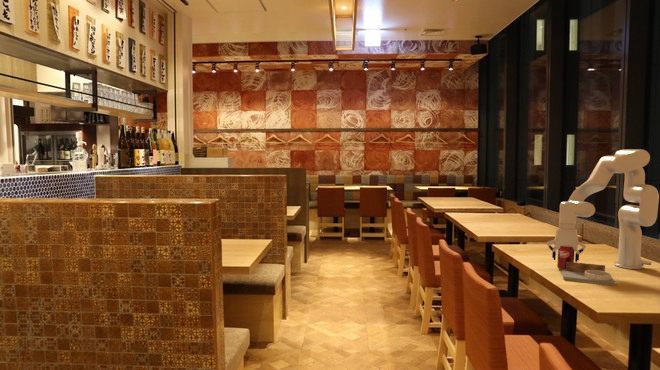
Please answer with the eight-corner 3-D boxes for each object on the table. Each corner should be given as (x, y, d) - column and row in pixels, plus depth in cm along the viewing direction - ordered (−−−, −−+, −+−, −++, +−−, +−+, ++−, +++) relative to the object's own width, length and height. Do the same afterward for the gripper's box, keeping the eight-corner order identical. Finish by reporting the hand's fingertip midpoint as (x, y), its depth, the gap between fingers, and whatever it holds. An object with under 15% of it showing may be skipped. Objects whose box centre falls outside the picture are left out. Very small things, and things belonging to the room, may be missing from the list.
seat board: (610, 278, 210) (610, 271, 210) (614, 285, 199) (615, 277, 199) (562, 273, 218) (562, 266, 218) (563, 279, 207) (563, 272, 207)
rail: (604, 275, 215) (604, 265, 215) (604, 276, 214) (605, 265, 214) (566, 271, 222) (566, 261, 222) (566, 272, 220) (566, 262, 220)
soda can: (564, 271, 223) (565, 246, 222) (553, 267, 230) (554, 244, 229) (576, 270, 225) (578, 246, 224) (565, 266, 232) (566, 243, 231)
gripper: (586, 226, 226) (584, 260, 227) (547, 224, 233) (545, 257, 234) (587, 229, 219) (585, 264, 220) (548, 226, 226) (546, 260, 227)
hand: (565, 260), depth 227 cm, fingers open, 9 cm apart
